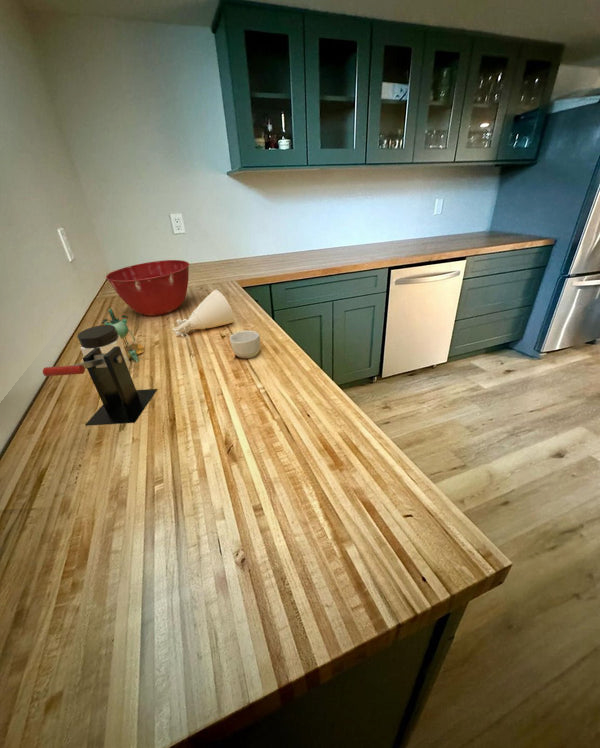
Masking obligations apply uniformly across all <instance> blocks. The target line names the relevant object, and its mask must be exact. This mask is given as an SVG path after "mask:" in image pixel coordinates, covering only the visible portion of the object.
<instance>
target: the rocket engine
mask: <svg viewBox="0 0 600 748" xmlns="http://www.w3.org/2000/svg"><path fill="white" fill-rule="evenodd" d="M175 322H176V324H177V326H176V327H173V328H172V332H174V335H175V336H176V337H179V336H181V338H185V336H186V338H189V337H190V336H189V334H188V332H189V331H190V330H205V329H210V328H211V329H212V328H216V327H221V326H225V325H226V326H227V325H228V324H232V323H234V322H235V315H234V311H233V309H232V307H231V304H230V303H229V301H228V300H227V298H226V297H225V296H224V294H223V293H222V292H221V291H220V290H218V289H214V290H213V291H212V292H210V293H209V294H208V295H207V296H206V297H205V298H204V299H203V300H202V301H201V302H200V303H199V305H198V306H197V307H196V308H195V309H194V310H192V311H191V314H190V316H189V317H188V319H187V318H184V319H181V318H179V319H176V321H175Z"/></svg>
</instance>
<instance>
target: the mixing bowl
mask: <svg viewBox="0 0 600 748" xmlns="http://www.w3.org/2000/svg"><path fill="white" fill-rule="evenodd" d="M189 267H190V263H189V262H188V261H186V260H182V259H166V260H155V261H148V262H142V263H138V264H133V265H129V266H124V267H121V268H119V269H116V270H114V271H111V272H109V273H108V274H107V275H106V276H105V279H106V280H107V281H108V282H109V284H110V285H111V287H112V288H113V289H114V292H116V294H117V295H118V296H119V297H120V299H121V300H122V301H123V302H124V303H125V304H126V305H127V306H128V307H130V309H131V310H132V311H134V312H136V313H138V314H140V315H141V314H142V315H143V314H144V316H147V317H157V316H163V315H168V314H169V313H172V312H174V311H177V310H178V309H179V307H180V306H181V305H183V303H184V301H185V299H186V296H187V291H188V286H189V276H190V275H189V273H190V271H189V269H190V268H189Z"/></svg>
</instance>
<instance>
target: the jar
mask: <svg viewBox="0 0 600 748" xmlns="http://www.w3.org/2000/svg"><path fill="white" fill-rule="evenodd" d="M76 337H77V339H78V342H79V344H80V346H81V347H80V351H81V353H82V355H83V357H84V356H86V355H87V354H88V353H89V352H90V351H92V350H93V349H94V348H100V350H101V352H102V354H104V353H108V352H109V351H110V350H111V349H112V348H114V347H116V346H119V347H120V349H121V352H122V354H123V357H124V360H125V362H126V365H127V367H128V370H130V367H131V361H130V359H128V356H127V353H126V351H125V348H124V347H125V346H124V345H125V344H124V343H123V339H121V337H120V335H118V333H117V330H116V328H115V327H114V326H112V325H104V324H100V325H95V326H91V327H88V328H86V329H83V330H81V331H80V332H79V333H78V334H77V336H76Z"/></svg>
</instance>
